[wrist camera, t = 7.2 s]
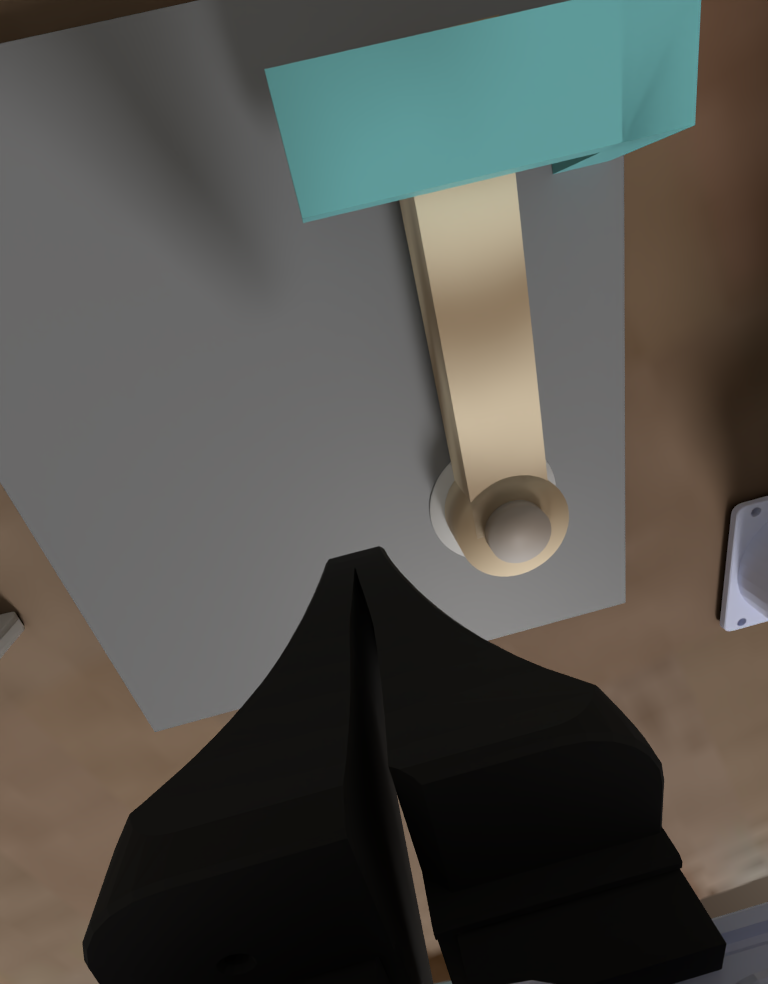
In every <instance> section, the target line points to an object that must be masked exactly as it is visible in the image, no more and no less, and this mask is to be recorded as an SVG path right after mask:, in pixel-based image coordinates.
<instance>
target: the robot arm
mask: <svg viewBox="0 0 768 984" xmlns="http://www.w3.org/2000/svg"><path fill="white" fill-rule="evenodd" d="M753 509H754V510H753ZM752 510H753V511H752ZM766 621H768V496H765V497H761V498H758V499H754V500H750V501H746V502H743V503H740V504H738V505H736V506H735V507H734V509H733V510H732V513H731V520H730V530H729V540H728V549H727V559H726V568H725V578H724V587H723V597H722V607H721V616H720V626H721V627H722V628H724V629H725V630H726V631H734V630H737V629H741V628H744V627H748V626H752V625H755V624H759V623H762V622H766ZM663 791H664V776H663V770H662V763H661V762H660V760H659V759H658V757H657V756H656V754H655V753H654V751H653V750H652V748H651V747H650V745H649V744H648V742H647V741H646V739H645V738H644V737H643V735H642V734H641V733H640V732H639V730H638V729H637V728H636V727H635V725H634V724H633V723H632V722H631V721H630V720H629V719H628V718H627V717H626V716H625V714H624V713H623V712H622V711H621V710H620V709H619V708H618V707H617V706H616V705H615V704H614V703H613V702H612V701H611V700H610V699H609V698H608V697H607V696H606V695H605V694H604V693H603V692H602V691H601V690H600V689H599V688H598V687H597V686H596V685H593V684H591V683H588V682H585V681H582V680H579V679H576V678H573V677H570V676H567V675H564V674H561V673H558V672H555V671H552V670H549V669H546V668H544V667H541V666H539V665H536V664H534V663H532V662H529V661H527V660H525V659H522V658H520V657H518V656H515V655H513V654H512V653H510V652H508V651H506V650H504V649H502V648H500V647H498V646H496V645H494V644H492V643H490V642H488V641H487V640H485V639H483V638H481V637H480V636H478V635H477V634H475V633H473V632H472V631H470V630H469V629H467V628H465V627H464V626H462V625H461V624H460V623H458V622H457V621H455V620H454V619H452V618H451V617H450V616H448V615H447V614H446V613H444V612H443V611H442V610H440V609H439V608H438V607H437V606H436V605H434V604H433V603H432V602H431V601H430V600H428V599H427V598H426V597H425V596H424V595H423V594H422V593H421V592H420V591H419V590H417V588H416V587H415V586H414V585H413V584H412V583H411V582H410V581H409V580H408V579H407V578H406V577H405V576H404V575H403V574H402V573H401V572H400V571H399V569H398V568H397V567H396V566H395V565H394V563H393V562H392V561H391V559H390V558H389V556H388V555H387V553H386V551H385V549H384V548H382V547H380V546H377V547H373V548H370V549H366V550H362V551H358V552H354V553H350V554H347V555H343V556H339V557H335V558H331V559H329V560H328V562H327V563H326V565H325V568H324V570H323V573H322V576H321V578H320V581H319V583H318V586H317V588H316V590H315V593H314V595H313V597H312V599H311V601H310V603H309V605H308V607H307V610H306V612H305V614H304V616H303V618H302V620H301V622H300V623H299V625H298V627H297V629H296V630H295V632H294V634H293V636H292V638H291V639H290V641H289V643H288V645H287V646H286V648H285V649H284V651H283V653H282V654H281V656H280V657H279V659H278V660H277V662H276V663H275V665H274V666H273V668H272V669H271V671H270V672H269V673H268V675H267V676H266V678H265V679H264V680H263V682H262V683H261V684H260V685H259V687H258V688H257V689H256V690H255V691H254V693H253V694H252V695H251V696H250V697H249V699H248V700H247V701H246V702H245V703H244V705H243V706H242V707H241V708H240V709H239V711H238V712H237V713H236V714H235V715H234V717H233V718H232V719H231V720H230V721H229V722H228V723H227V724H226V725H225V726H224V727H223V728H222V729H221V731H220V732H219V733H218V734H217V735H216V736H215V737H214V738H213V739H212V740H211V741H210V742H209V743H208V744H207V745H206V746H205V747H204V748H203V749H202V750H201V751H200V752H199V753H198V754H197V755H196V756H195V757H194V758H193V759H192V760H191V761H190V762H189V763H187V764H186V765H185V766H184V767H183V768H182V769H181V770H180V771H179V772H178V773H176V774H175V775H174V776H173V777H172V778H171V779H170V780H169V781H167V782H166V783H165V784H164V785H163V786H162V787H161V788H159V789H158V790H157V791H156V792H155V793H154V794H153V795H152V796H150V797H149V798H148V799H147V800H146V801H145V802H144V803H142V804H141V805H140V806H139V807H138V808H136V809H135V810H134V811H133V812H132V813H130V814H129V817H128V819H127V822H126V824H125V826H124V829H123V831H122V834H121V836H120V838H119V841H118V843H117V845H116V848H115V850H114V853H113V856H112V859H111V862H110V865H109V868H108V870H107V873H106V876H105V879H104V882H103V885H102V888H101V891H100V894H99V897H98V899H97V902H96V905H95V908H94V911H93V914H92V917H91V920H90V923H89V925H88V928H87V931H86V934H85V937H84V940H83V952H84V961H85V963H86V964H87V966H88V968H89V969H90V971H91V972H92V974H93V975H94V977H95V978H96V980H97V981H98V983H99V984H433V980H432V975H431V970H430V965H429V960H428V955H427V950H426V945H425V940H424V935H423V930H422V925H421V920H420V914H419V909H418V904H417V899H416V894H415V889H414V883H413V878H412V873H411V868H410V863H409V857H408V852H407V847H406V841H405V836H404V831H403V825H402V820H401V815H400V809H399V804H398V799H399V802H400V805H401V808H402V811H403V814H404V817H405V820H406V823H407V826H408V830H409V833H410V836H411V839H412V842H413V845H414V848H415V851H416V854H417V858H418V861H419V864H420V867H421V870H422V874H423V879H424V885H425V890H426V896H427V901H428V906H429V912H430V917H431V922H432V927H433V932H434V936H435V939H436V940H438V942H439V945H440V948H441V951H442V954H443V957H444V960H445V963H446V966H447V969H448V972H449V975H450V978H451V981H452V984H768V902H766V903H763V904H759V905H756V906H753V907H749V908H746V909H743V910H739V911H736V912H733V913H729V914H726V915H722V916H719V917H716V918H712V919H711V918H710V916H709V915H708V913H707V911H706V910H705V908H704V907H703V905H702V903H701V902H700V900H699V899H698V897H697V895H696V894H695V892H694V891H693V889H692V887H691V886H690V884H689V883H688V881H687V880H686V878H685V876H684V875H683V873H682V872H681V870H680V868H682V860H681V857H680V855H679V853H678V851H677V850H676V848H675V846H674V845H673V843H672V842H671V840H670V839H669V837H668V836H667V834H666V832H665V831H664V829H663V828H662V809H663ZM396 792H397V793H396ZM397 795H398V798H397Z"/></svg>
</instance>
